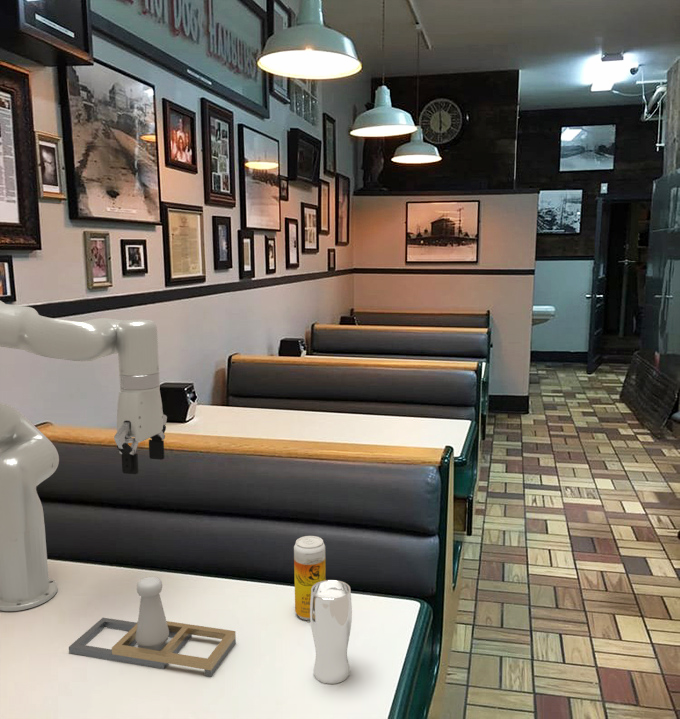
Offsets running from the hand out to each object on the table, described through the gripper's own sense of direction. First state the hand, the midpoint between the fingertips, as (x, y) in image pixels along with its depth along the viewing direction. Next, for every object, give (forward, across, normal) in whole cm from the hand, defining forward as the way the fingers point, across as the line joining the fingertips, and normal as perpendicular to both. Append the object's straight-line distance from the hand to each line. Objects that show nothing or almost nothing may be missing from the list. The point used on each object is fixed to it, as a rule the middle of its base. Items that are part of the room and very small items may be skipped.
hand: (144, 465), depth 129 cm
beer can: (+28, -2, +34) cm, 44 cm away
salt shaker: (+28, +16, +10) cm, 34 cm away
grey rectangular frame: (+28, +16, +6) cm, 33 cm away
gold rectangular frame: (+28, +16, +14) cm, 36 cm away
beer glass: (+28, +15, +43) cm, 54 cm away
